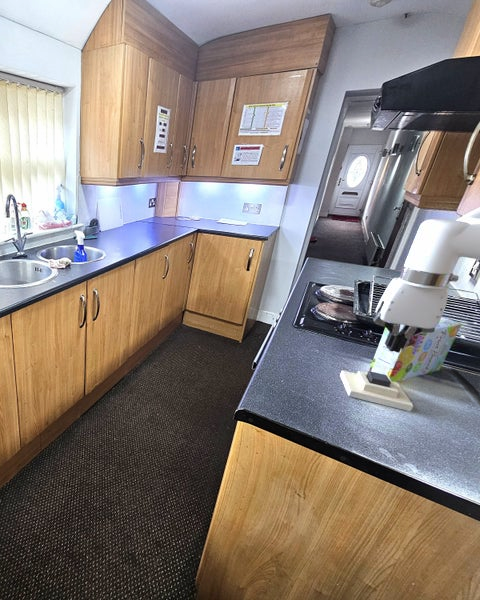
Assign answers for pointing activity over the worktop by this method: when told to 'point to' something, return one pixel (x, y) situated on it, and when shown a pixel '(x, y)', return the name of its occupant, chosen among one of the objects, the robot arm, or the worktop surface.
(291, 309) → the worktop surface
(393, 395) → the cream stepped base
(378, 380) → the dark grey square block
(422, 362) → the snack box
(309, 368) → the worktop surface
